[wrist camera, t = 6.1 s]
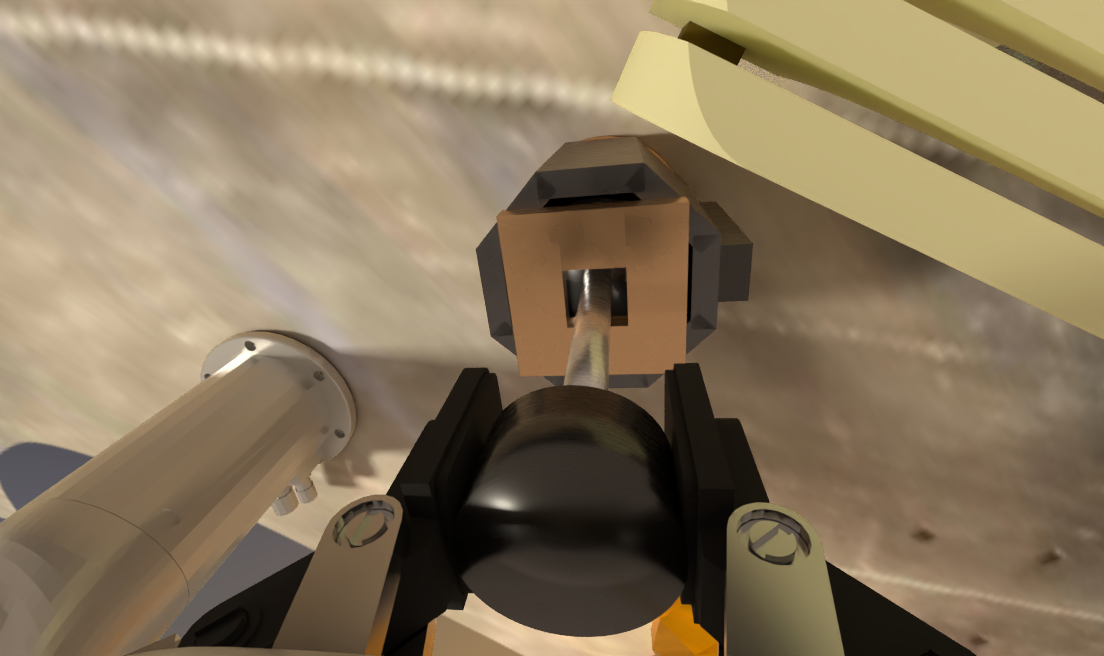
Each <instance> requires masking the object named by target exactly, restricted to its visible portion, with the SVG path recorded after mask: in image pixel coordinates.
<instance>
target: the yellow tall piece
mask: <svg viewBox="0 0 1104 656" xmlns="http://www.w3.org/2000/svg"><path fill="white" fill-rule="evenodd" d="M651 636H652V649H653V651H654V653H655V654H656V655H654V656H717V645H718V642H717V641H716V640H715V639H714V638H713V637H712V636H711V635H710V634H709V633H707V632H706V631H705V630H704V629H703V628H702V627H701V626H700V624H694V621H693V613H692V606H691V605H684V604H681V601H680V596H679V598H678V599H677V600H676V601H675V603H674V604H673V605H672V606H671V607H670V608H669V609H668V610H667V611H666V612H665V613H663V614H662V615H661V616H659V617H658V618H656V619H655V620H653V623H652V627H651Z"/></svg>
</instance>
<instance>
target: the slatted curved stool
mask: <svg viewBox="0 0 1104 656" xmlns="http://www.w3.org/2000/svg"><path fill="white" fill-rule="evenodd" d="M649 13H651V14H653V15H655V16H657V17H659V18H661V19H663V20H665V21H668V22H670V23H672V24H674V25H676V26H678V27H680V28H682V30H681V32H680V34H679V37H678V38H675V37H672V36H668V35H664V34H661V33H657V32H651V31H641V32H640V33H639V35H638V37H637V40H636V42H635V44H634V46H633V49H632V51H631V53H630V56H629V58H628V60H627V63H626V65H625V67H624V70H623V72H622V74H621V77H620V79H619V81H618V83H617V86H616V88H615V90H614V93H613V95H612V97H611V101H612V102H613V103H615V104H617V105H619V106H621V107H622V108H624V109H626V110H628V111H630V112H632V113H634V114H636V115H638V116H639V117H641V118H643V119H645V120H647V121H649V122H651V123H653V124H655V125H657V126H659V127H661V128H663V129H665V130H667V131H669V132H671V133H673V134H675V135H677V136H679V137H681V138H683V139H685V140H687V141H689V142H691V143H693V144H695V145H697V146H700V147H702V148H704V149H706V150H708V151H710V152H712V153H714V154H716V155H718V156H720V157H722V158H724V159H726V160H728V161H730V162H732V163H735V164H737V165H739V166H741V167H743V168H745V169H747V170H749V171H751V172H753V173H755V174H758V175H760V176H762V177H764V178H766V179H768V180H770V181H772V182H774V183H776V184H779V185H781V186H783V187H785V188H787V189H789V190H791V191H793V192H795V193H797V194H800V195H802V196H804V197H806V198H808V199H810V200H812V201H814V202H816V203H818V204H821V205H823V206H825V207H827V208H829V209H831V210H833V211H835V212H837V213H839V214H841V215H844V216H846V217H848V218H850V219H852V220H854V221H856V222H858V223H860V224H862V225H865V226H867V227H869V228H871V229H873V230H875V231H877V232H879V233H881V234H883V235H886V236H888V237H890V238H892V239H894V240H896V241H898V242H900V243H902V244H904V245H907V246H909V247H911V248H913V249H915V250H917V251H919V252H921V253H923V254H925V255H928V256H930V257H932V258H934V259H936V260H938V261H940V262H942V263H944V264H946V265H949V266H951V267H953V268H955V269H957V270H959V271H961V272H963V273H965V274H967V275H969V276H972V277H974V278H976V279H978V280H980V281H982V282H984V283H986V284H988V285H990V286H993V287H995V288H997V289H999V290H1001V291H1003V292H1005V293H1007V294H1009V295H1011V296H1014V297H1016V298H1018V299H1020V300H1022V301H1024V302H1026V303H1028V304H1030V305H1032V306H1035V307H1037V308H1039V309H1041V310H1043V311H1045V312H1047V313H1049V314H1051V315H1053V316H1056V317H1058V318H1060V319H1062V320H1064V321H1066V322H1068V323H1070V324H1072V325H1074V326H1077V327H1079V328H1081V329H1083V330H1085V331H1087V332H1089V333H1091V334H1093V335H1095V336H1097V337H1100V338H1102V339H1104V247H1103V246H1101V245H1099V244H1097V243H1095V242H1093V241H1091V240H1089V239H1087V238H1085V237H1083V236H1081V235H1079V234H1077V233H1075V232H1073V231H1071V230H1069V229H1067V228H1065V227H1063V226H1061V225H1059V224H1057V223H1055V222H1053V221H1051V220H1049V219H1047V218H1045V217H1043V216H1040V215H1038V214H1036V213H1034V212H1032V211H1030V210H1028V209H1026V208H1024V207H1022V206H1020V205H1018V204H1016V203H1014V202H1012V201H1010V200H1008V199H1006V198H1004V197H1002V196H1000V195H998V194H996V193H994V192H992V191H990V190H988V189H986V188H984V187H982V186H980V185H978V184H976V183H974V182H971V181H969V180H967V179H965V178H963V177H961V176H959V175H957V174H955V173H953V172H951V171H949V170H947V169H945V168H943V167H941V166H939V165H937V164H935V163H933V162H931V161H929V160H927V159H925V158H923V157H921V156H919V155H917V154H915V153H913V152H911V151H909V150H907V149H905V148H902V147H900V146H898V145H896V144H894V143H892V142H890V141H888V140H886V139H884V138H882V137H880V136H878V135H876V134H874V133H872V132H870V131H868V130H866V129H864V128H862V127H860V126H858V125H856V124H854V123H852V122H850V121H848V120H846V119H844V118H842V117H840V116H838V115H836V114H833V113H831V112H829V111H827V110H825V109H823V108H821V107H819V106H817V105H815V104H813V103H811V102H809V101H807V100H805V99H803V98H801V97H799V96H797V95H795V94H793V93H791V92H789V91H787V90H785V89H783V88H781V87H779V86H777V85H775V84H773V83H771V82H769V81H767V80H765V79H762V78H760V77H758V76H756V75H754V74H752V73H750V72H748V71H746V70H744V69H742V68H740V67H738V66H737V65H738V63H739V61H740V59H741V58H742V59H744V60H746V61H748V62H750V63H752V64H754V65H757V66H759V67H761V68H763V69H765V70H767V71H769V72H771V73H773V74H775V75H777V76H781V77H785V78H788V79H792V80H795V81H798V82H801V83H804V84H807V85H810V86H813V87H816V88H818V89H821V90H824V91H826V92H829V93H832V94H834V95H837V96H839V97H842V98H844V99H847V100H849V101H852V102H854V103H856V104H859V105H861V106H864V107H866V108H868V109H871V110H873V111H875V112H878V113H880V114H882V115H885V116H887V117H889V118H891V119H894V120H896V121H898V122H901V123H903V124H905V125H907V126H909V127H912V128H914V129H916V130H918V131H921V132H923V133H925V134H927V135H929V136H932V137H934V138H936V139H938V140H940V141H942V142H945V143H947V144H949V145H951V146H953V147H955V148H958V149H960V150H962V151H964V152H966V153H968V154H970V155H973V156H975V157H977V158H979V159H981V160H983V161H985V162H987V163H990V164H992V165H994V166H996V167H998V168H1000V169H1002V170H1004V171H1006V172H1008V173H1011V174H1013V175H1015V176H1017V177H1019V178H1021V179H1023V180H1025V181H1027V182H1029V183H1031V184H1033V185H1036V186H1038V187H1040V188H1042V189H1044V190H1046V191H1048V192H1050V193H1052V194H1054V195H1056V196H1058V197H1060V198H1062V199H1064V200H1067V201H1069V202H1071V203H1073V204H1075V205H1077V206H1079V207H1081V208H1083V209H1085V210H1087V211H1089V212H1091V213H1093V214H1095V215H1097V216H1099V217H1101V218H1103V219H1104V104H1102V103H1100V102H1099V101H1097V100H1095V99H1093V98H1091V97H1089V96H1087V95H1085V94H1083V93H1081V92H1079V91H1077V90H1075V89H1073V88H1071V87H1070V86H1068V85H1066V84H1064V83H1062V82H1060V81H1058V80H1056V79H1054V78H1052V77H1050V76H1048V75H1046V74H1044V73H1043V72H1041V71H1039V70H1037V69H1035V68H1033V67H1031V66H1029V65H1027V64H1025V63H1023V62H1021V61H1019V60H1017V59H1015V58H1014V57H1012V56H1010V55H1008V54H1006V53H1004V52H1002V51H1000V50H998V49H996V47H998V46H1000V45H1004V46H1006V47H1008V48H1011V49H1013V50H1015V51H1017V52H1019V53H1022V54H1024V55H1026V56H1028V57H1030V58H1033V59H1035V60H1037V61H1039V62H1041V63H1043V64H1046V65H1048V66H1050V67H1052V68H1054V69H1056V70H1058V71H1061V72H1063V73H1065V74H1067V75H1069V76H1071V77H1073V78H1075V79H1077V80H1079V81H1081V82H1084V83H1086V84H1088V85H1090V86H1092V87H1094V88H1096V89H1098V90H1100V91H1102V92H1104V0H654V1H653V3H652V6H651V9H650V11H649Z"/></svg>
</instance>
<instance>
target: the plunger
mask: <svg viewBox="0 0 1104 656" xmlns="http://www.w3.org/2000/svg"><path fill="white" fill-rule="evenodd" d="M622 201H629V200H627V199H624V198H620V197H616V196H610V195H591V196H585V197H581V198H578V199H575V200H572V201H570V202H568V203H566V204H564V205H563V206H568V205H582V204H595V203H608V202H622ZM565 274H566V285H567V295H568V306H569V317H576V321H575V326H574V332H573V337H572V342H571V348H570V353H569V358H568V364H567V369H566V374H565V379H564V385H563V386H554V387H548V388H543V389H540V390H537V391H534V392H531V393H529V394H527V395H525V396H522V397H520V398H519V399H517V400H516V401H514V402H513V403H511V404H510V405H509V406H508V407H507V408H505V409H504V410H503V411H502V412H501V414H500V415H499V416H498V417H497V418H496V420H495V422H494V423H493V425H492V426H491V429H490V431H489V434H488V436H487V439H486V442H485V444H484V447H483V450H482V452H481V455H480V457H479V460H478V463H477V465H476V468H475V471H474V473H473V476H472V479H471V481H470V484H469V486H468V489H467V492H466V494H465V497H464V500H463V502H462V505H461V507H460V510H459V513H458V515H457V518H456V521H455V523H454V526H453V530H452V535H451V550H452V556H453V560H454V562H455V565H456V568H457V570H458V572H459V574H460V576H461V577H462V579H463V580H464V582H465V583H466V584H467V586H468V587H469V588H470V589H471V590H472V592H473V593H474V594H475V595H476V596H477V597H478V598H479V599H481V600H482V601H483V602H484V603H485V604H487V605H488V606H489V607H491V608H492V609H494V610H495V611H497V612H498V613H500V614H502V615H503V616H505V617H507V618H509V619H511V620H513V621H515V622H518V623H520V624H522V625H525V626H528V627H530V628H533V629H537V630H540V631H544V632H548V633H553V634H559V635H566V636H575V637H595V636H607V635H613V634H619V633H623V632H627V631H630V630H633V629H636V628H639V627H641V626H643V625H645V624H647V623H649V622H651V621H653V620H655V619H656V618H658V617H659V616H661V615H662V614H663V613H665V612H666V611H667V610H668V609H669V608H670V607H671V606H672V605H673V604H674V603H675V601H676V600H677V599H678V598H679V596H680V594H681V592H682V590H683V589H684V586H685V583H686V580H687V574H688V556H687V549H686V543H685V539H684V535H683V528H682V521H681V514H680V507H679V500H678V493H677V486H676V479H675V472H674V466H673V459H672V452H671V447H670V444H669V441H668V439H667V437H666V435H665V433H664V432H663V430H662V428H661V427H660V426H659V424H658V423H657V422H656V421H655V420H654V418H653V417H652V416H651V415H649V414H648V413H647V412H646V411H645V410H644V409H643V408H641V407H640V406H638V405H637V404H635V403H634V402H632V401H630V400H628V399H627V398H625V397H623V396H621V395H618V394H615V393H613V392H610V391H608V381H609V353H610V325H611V316H622V315H628V303H627V274H626V267H623V268H604V269H585V270H566V271H565Z"/></svg>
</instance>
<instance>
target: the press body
mask: <svg viewBox="0 0 1104 656" xmlns="http://www.w3.org/2000/svg"><path fill="white" fill-rule="evenodd" d="M591 195H610V196H616V197H620V198H624V199H627V200H629V201H622V202H608V203H595V204H582V205H568V206H563V205H564V204H566V203H568V202H570V201H572V200H575V199H578V198H581V197H585V196H591ZM496 217H497V223H496V224H495V225H494V227H493V228H492V229H491V230H490V232H489V233H488V234H487V236H486V237H485V238H484V239H483V241H482V242H481V243H480V245H479V246H478V247H477V248H476V253H477V259H478V265H479V270H480V276H481V282H482V288H483V294H484V299H485V305H486V311H487V317H488V323H489V328H490V334H491V337H493V338H494V339H495V340H496V341H498V342H499V343H500V344H502V345H503V346H504V347H506V348H507V349H508V350H510V351H511V352H512V353H513V354H515V355H516V356H517V359H518V365H519V372H520V376H544V377H545V378H546V379H547V380H549V381H550V382H551V383H553V384H554V385H555V386H563V385H564V379H565V374H566V369H567V364H568V358H569V353H570V348H571V342H572V337H573V332H574V326H575V321H576V317H569V306H568V295H567V285H566V274H565V271H566V270H585V269H604V268H623V267H626V274H627V303H628V315H622V316H611V325H610V353H609V381H608V388H641V387H649V386H650V385H651V384H652V383H653V382H655V381H656V380H657V379H658V378H659V377H660V376H662V375H663V374H665V370H673V366H674V363H686V354H687V353H688V352H690V351H691V350H692V349H693V348H694V347H695V346H697V345H698V344H699V343H700V342H701V341H702V340H704V339H705V338H706V337H707V336H708V335H709V334H711V333H712V332H713V331H714V330H715V329H716V324H717V305H718V302H725V301H748V296H749V284H750V272H751V260H752V248H753V243H752V242H751V241H750V240H749V239H748V238H747V236H746V235H745V234H744V233H743V232H742V231H741V230H740V228H739V227H738V226H737V225H736V224H735V223H734V222H733V220H732V219H731V218H730V217H729V216H728V215H727V214H726V212H725V211H724V210H723V209H722V208H721V207H720V206H719V204H718V203H717V202H702V203H699V202H698V201H697V199H696V198H695V196H694V195H693V194H692V192H691V191H690V189H689V188H688V187H687V185H686V184H685V183H684V182H683V181H682V180H681V179H680V178H679V177H678V176H677V175H676V174H675V173H674V172H673V171H672V170H671V169H670V167H669V166H668V164H667V163H666V162H665V161H664V160H663V159H662V158H661V157H660V156H659V155H658V154H657V153H655V152H654V151H653V150H652V149H650V148H648V147H647V146H645V145H644V144H643V143H642V142H641V141H640V140H638V139H637V138H636V137H635V136H632V137H617V136H598V137H592V138H588V139H585V140H581V141H579V142H568V143H565V144H564V145H563V146H562V147H561V148H560V149H559V150H558V151H557V152H556V153H555V154H554V155H552V156H551V157H550V158H549V159H548V160H547V161H546V162H545V163H544V164H543V165H542V166H541V167H540V168H539V169H538V170H537V171H536V172H535V174H534V175H533V176H532V177H531V179H530V180H529V181H528V183H527V184H526V185H525V186H524V188H523V189H522V190H521V192H520V193H519V194H518V196H517V197H516V198H515V199H514V201H513V202H512V203H511V205H510V206H509V207H508V208H507V210H502V211H501V212H500V213H499V214H498V215H497V216H496Z"/></svg>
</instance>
